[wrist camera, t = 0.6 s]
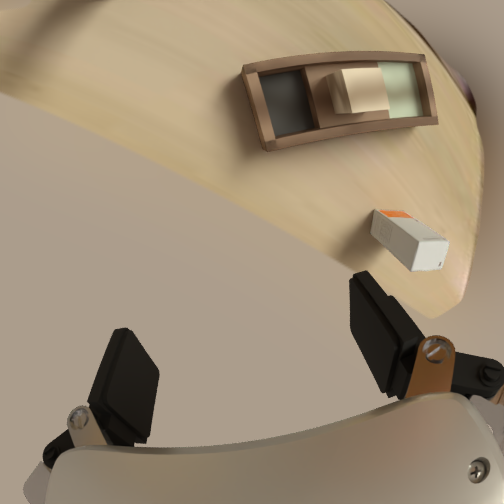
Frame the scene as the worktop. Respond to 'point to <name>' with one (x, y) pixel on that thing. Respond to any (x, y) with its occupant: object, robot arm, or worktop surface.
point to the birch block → (357, 90)
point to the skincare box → (409, 240)
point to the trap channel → (319, 99)
